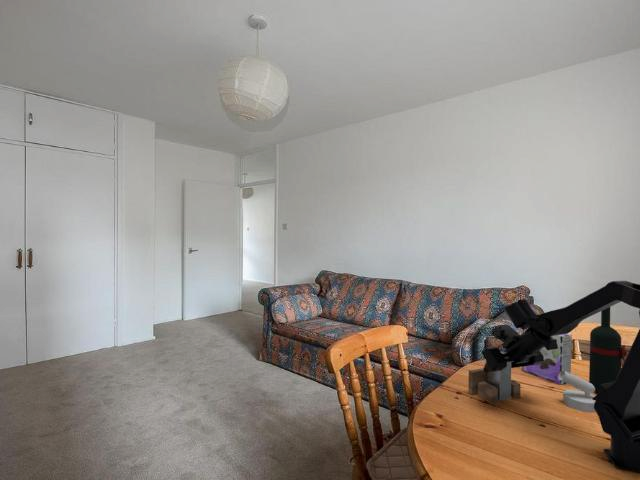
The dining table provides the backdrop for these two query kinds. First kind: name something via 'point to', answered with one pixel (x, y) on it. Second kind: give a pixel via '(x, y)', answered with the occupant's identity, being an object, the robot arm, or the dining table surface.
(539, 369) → the candy box
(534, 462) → the dining table surface
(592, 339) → the wine bottle
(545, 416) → the dining table surface
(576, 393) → the wall hook
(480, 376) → the bench
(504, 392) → the grey square pillar
